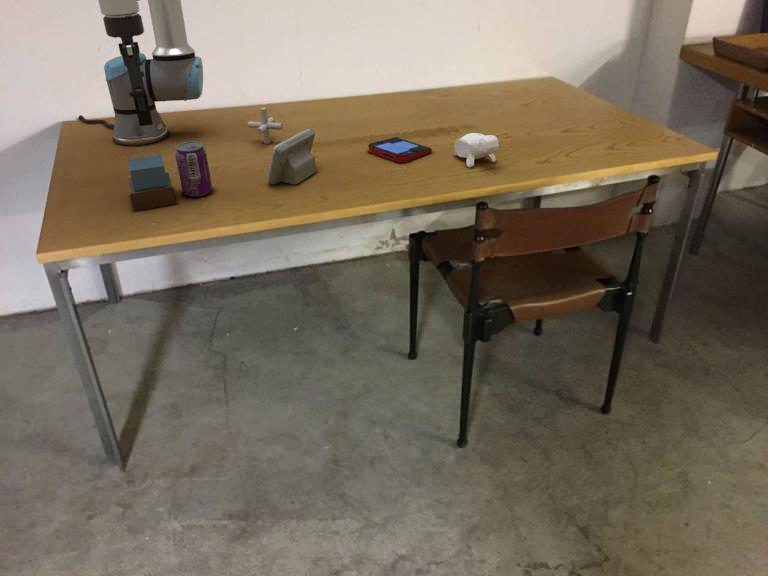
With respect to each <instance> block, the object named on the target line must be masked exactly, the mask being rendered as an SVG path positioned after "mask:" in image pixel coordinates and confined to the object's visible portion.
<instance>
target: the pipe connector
mask: <svg viewBox="0 0 768 576" xmlns="http://www.w3.org/2000/svg"><path fill="white" fill-rule="evenodd" d="M259 111H260V117H261V118H260V119H261V121H251V120H250V121H247V127H248V128H249V129H255V132H256V134H257V135H259V136H261V135H262V136H263V143H264V144H265V145H267V144H270V143H271V136H270V135H271V134H270V130H281V131H282V130H283V129H284V125H283V123H282V122H275V119H274V117H268V109H267V107H260V108H259Z"/></svg>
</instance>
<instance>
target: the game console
mask: <svg viewBox="0 0 768 576" xmlns="http://www.w3.org/2000/svg"><path fill="white" fill-rule="evenodd" d="M367 147H368V152H369V153H370V154H373V155H376V156H379V157H381V158H384V159H387V160H389V161H393V162H395V163H406V162H409V161H411V160H414V159H415V160H416V158H420V157H422V156H425V155H428V154H430V153H431V152H432V151H433V149H432V148H431V147H429V146H425V145H422V144H419V143H416V142H414V141H410V140H406V139H403V138H402V137H397V136H394V137H391V138H386V139H382V140H379V141H373V142H370V143H368V145H367Z"/></svg>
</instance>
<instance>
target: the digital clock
mask: <svg viewBox="0 0 768 576" xmlns="http://www.w3.org/2000/svg"><path fill="white" fill-rule="evenodd" d="M315 136H316V133H315V130H314V129H313V128H308V129H305V130H303V131H300V132H299V133H297V134H294V135H293V136H291V137H288V138H287V139H286V140H283V141H282V142H279V143H278V144H276V145H275V146H274V147H273V149H272V153H271V157H270V163H269V166H268V171H267V177H266V180H267V183H268V184H269V185H276V184H279V183H280V182H281V183H285V184H290V185H295V186H297V185H298V184H300V183H301V182H303V181H304V180H306V179H308V178H309V177H310V176H313V175H314V174H315V173H317V171H316V159H315V156H314V155H313V154H312V153H311V152H312V148H313V143H314V141H315V140H314V139H315Z"/></svg>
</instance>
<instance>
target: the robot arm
mask: <svg viewBox="0 0 768 576" xmlns="http://www.w3.org/2000/svg"><path fill="white" fill-rule="evenodd" d="M97 1H98V5H99V10H100V14H102V15H103V19H102V20H103V24H104V28H105V33H106V35H107V36H108V37H110V38H115V39H117V38H120V40H121V43H117V44H118V49H119V53H120V55H118V56H116V57H113V58H111V59H109V60H107V61H106V62H105V63H104V65H103V70H104V75H105V81H106V85H107V88H108V92H109V96H110V100H111V104H112V108H113V112H114V121H113V122H114V124H113V123H111V124H110V123H109V122H108V121H106V120H104V119H86V118H85V117H84V116H83V115H79V116H78V120H82V121H83V122H84V123H87V124H104V125H105V126H106V127H107V128H113V132H112V133H113V135H112V136H113V139H114V142H115V143H117V144H118V145H121V146H132V147H133V146H144V145H149V144H154V143H157V142H159V141H162V140H164V139H165V138H167V136H168V134H169V133H168V127H167V125H166V124H165V123H164V121H163V120H164V119H162V117H161V115H160V113H159V112H158V109H157V107H156V106H157V105H156V103H157V102H177V101H184V102H187V101H191V100H192V101H193V100H198V99H200V97H201V96H202V95H203V88H204V65H203V60H202V57H200V56H196V51H195V49H194V48H193V47H192V46H190V45H189V42H188V37H187V31H186V24H185V18H184V12H183V6H182V0H147V4H148V9H149V15H150V20H151V25H152V30H153V36H154V41H155V48H154V49H153V50H152V52H151V56H152V58H149V59H148V58H147V56H146V55H145V53H142V52H141V51H140V46H139V43H138V41H134V37H138V36H141V35H143V34H144V32H145V28H144V24H143V23H144V22H143V18H142V15H141V14H139V12H140V6H139V2H138V1H140V0H97Z"/></svg>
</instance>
